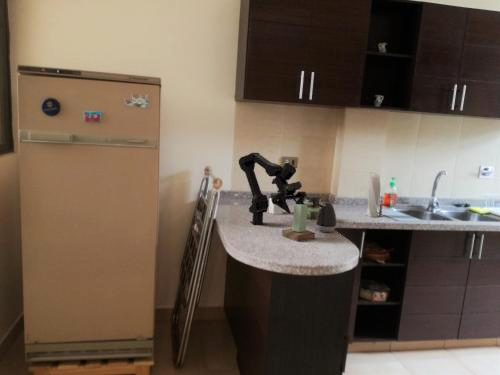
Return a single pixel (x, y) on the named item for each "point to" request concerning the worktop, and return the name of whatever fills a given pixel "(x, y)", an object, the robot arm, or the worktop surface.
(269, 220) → the worktop surface
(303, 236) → the walnut riser
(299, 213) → the green block
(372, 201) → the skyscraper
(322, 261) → the worktop surface
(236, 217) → the worktop surface
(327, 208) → the dark rounded piece
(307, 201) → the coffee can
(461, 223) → the worktop surface
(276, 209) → the jar
